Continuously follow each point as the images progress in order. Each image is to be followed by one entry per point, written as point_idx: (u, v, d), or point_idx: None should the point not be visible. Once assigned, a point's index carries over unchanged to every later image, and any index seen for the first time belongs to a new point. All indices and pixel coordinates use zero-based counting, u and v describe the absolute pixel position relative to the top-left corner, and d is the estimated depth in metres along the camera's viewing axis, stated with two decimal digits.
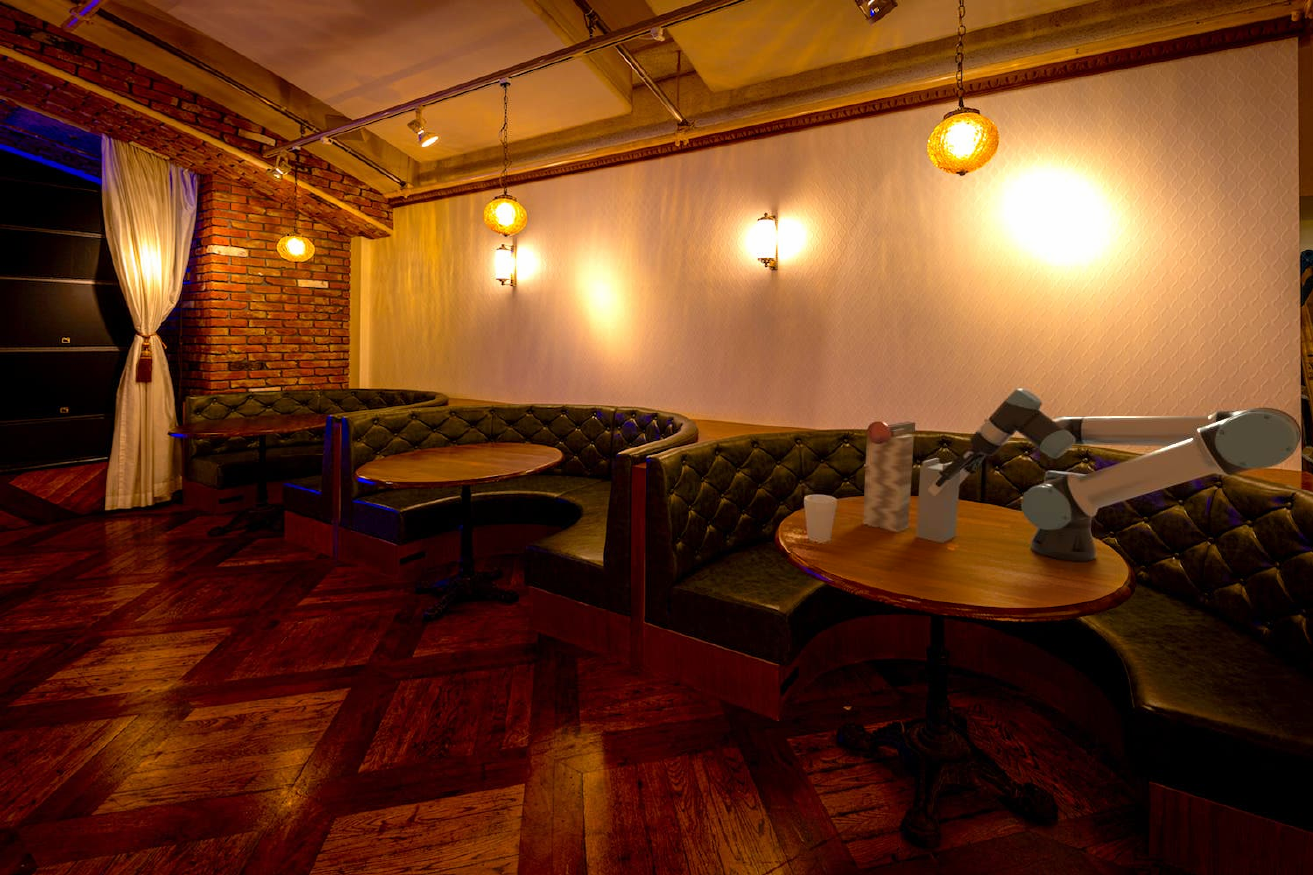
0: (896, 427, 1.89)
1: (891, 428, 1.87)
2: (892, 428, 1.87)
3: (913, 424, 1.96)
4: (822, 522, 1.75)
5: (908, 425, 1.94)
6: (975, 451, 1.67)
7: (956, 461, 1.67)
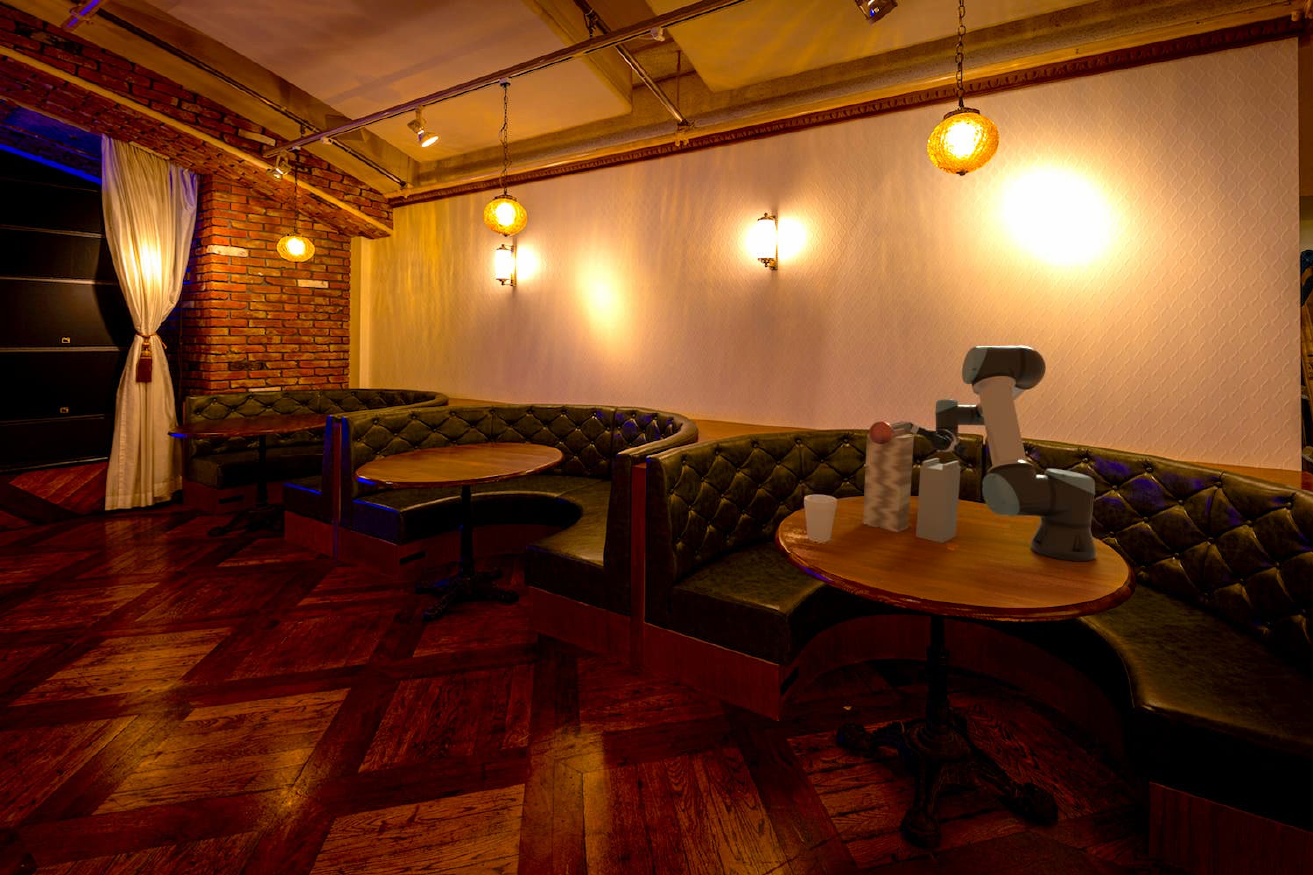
0: (896, 427, 1.89)
1: (892, 428, 1.86)
2: (893, 428, 1.87)
3: (909, 424, 1.97)
4: (822, 522, 1.75)
5: (905, 425, 1.95)
6: None
7: None
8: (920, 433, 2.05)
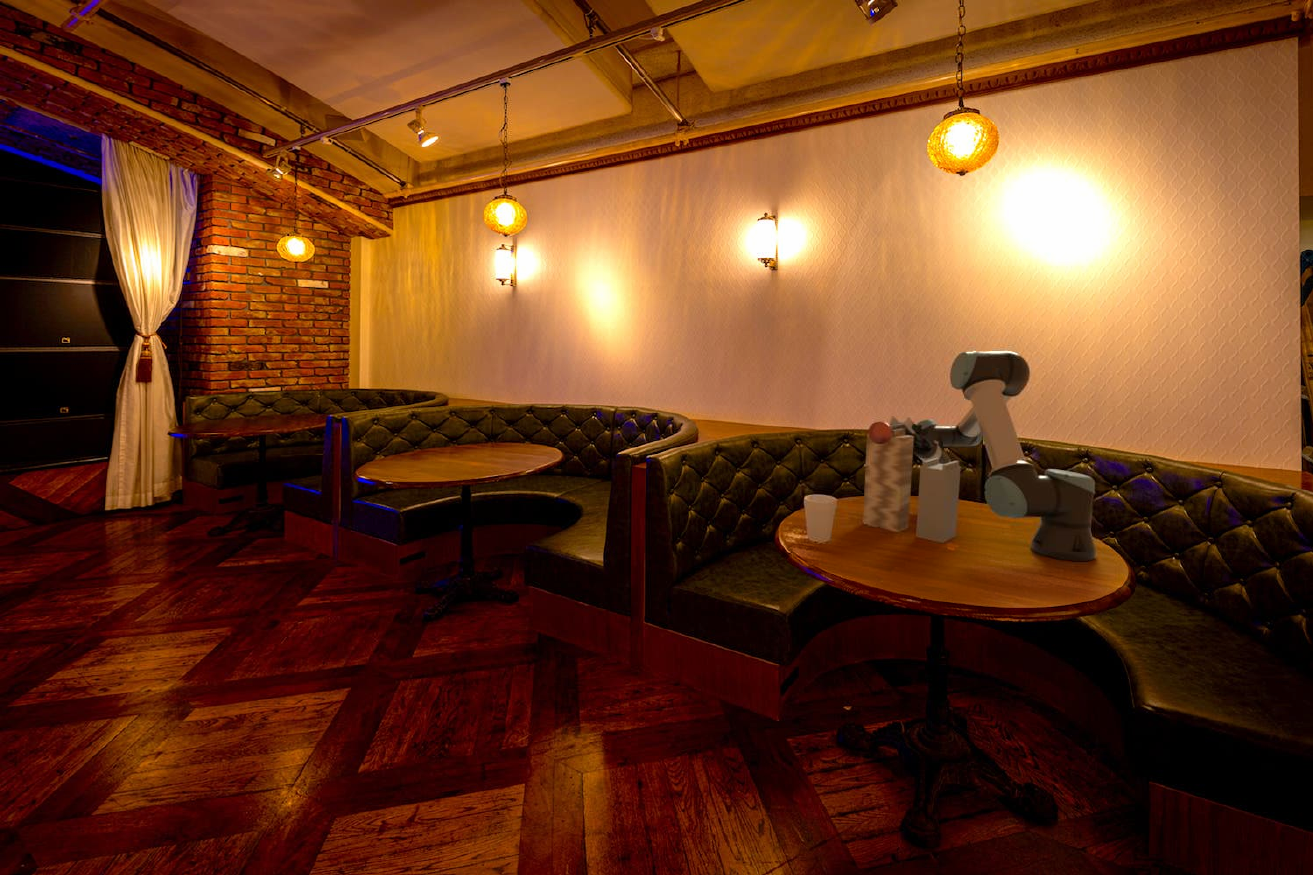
0: (896, 427, 1.89)
1: (892, 428, 1.86)
2: (893, 428, 1.87)
3: None
4: (822, 522, 1.75)
5: None
6: None
7: None
8: None
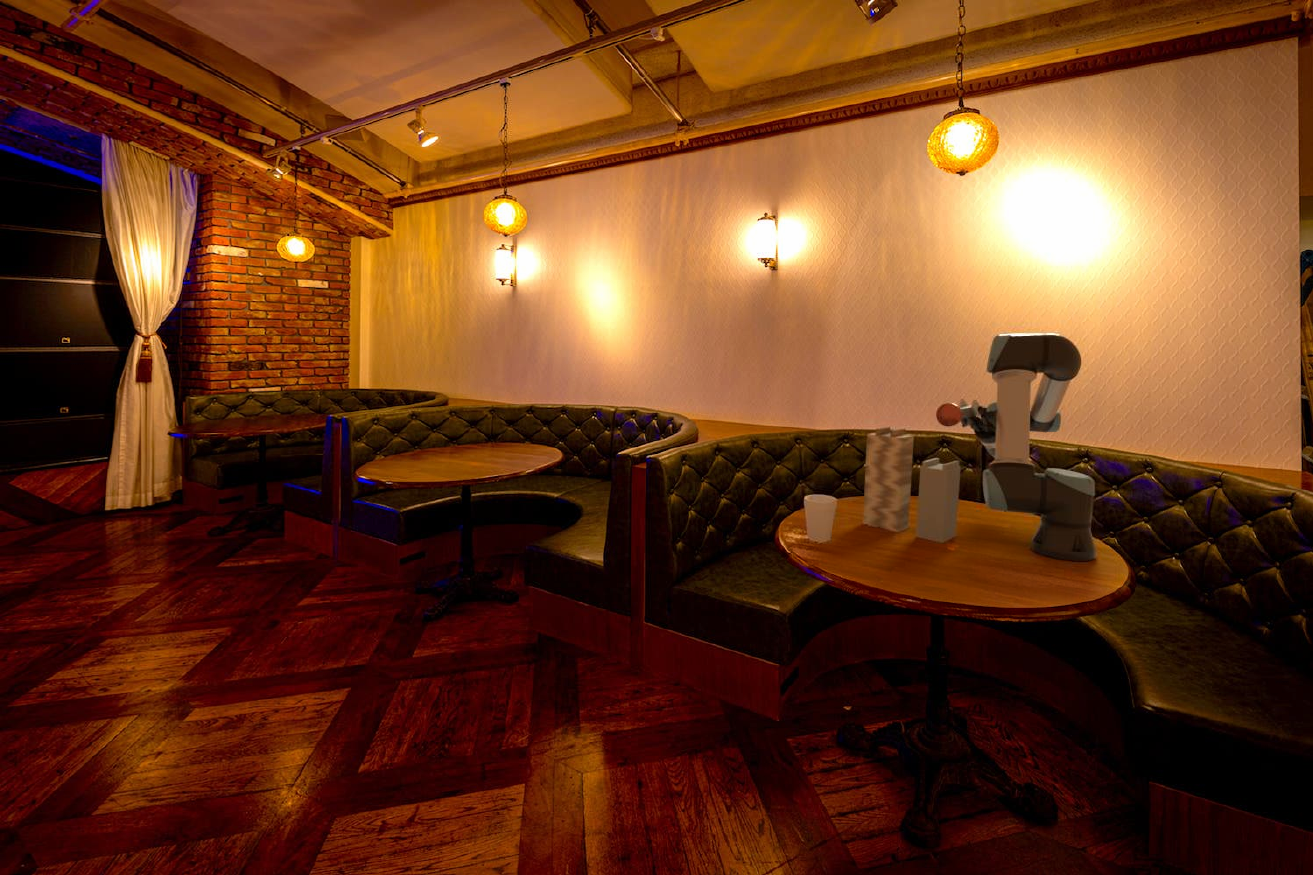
0: (965, 409, 1.83)
1: (961, 410, 1.81)
2: (962, 410, 1.82)
3: None
4: (822, 522, 1.75)
5: None
6: None
7: None
8: (970, 417, 1.94)
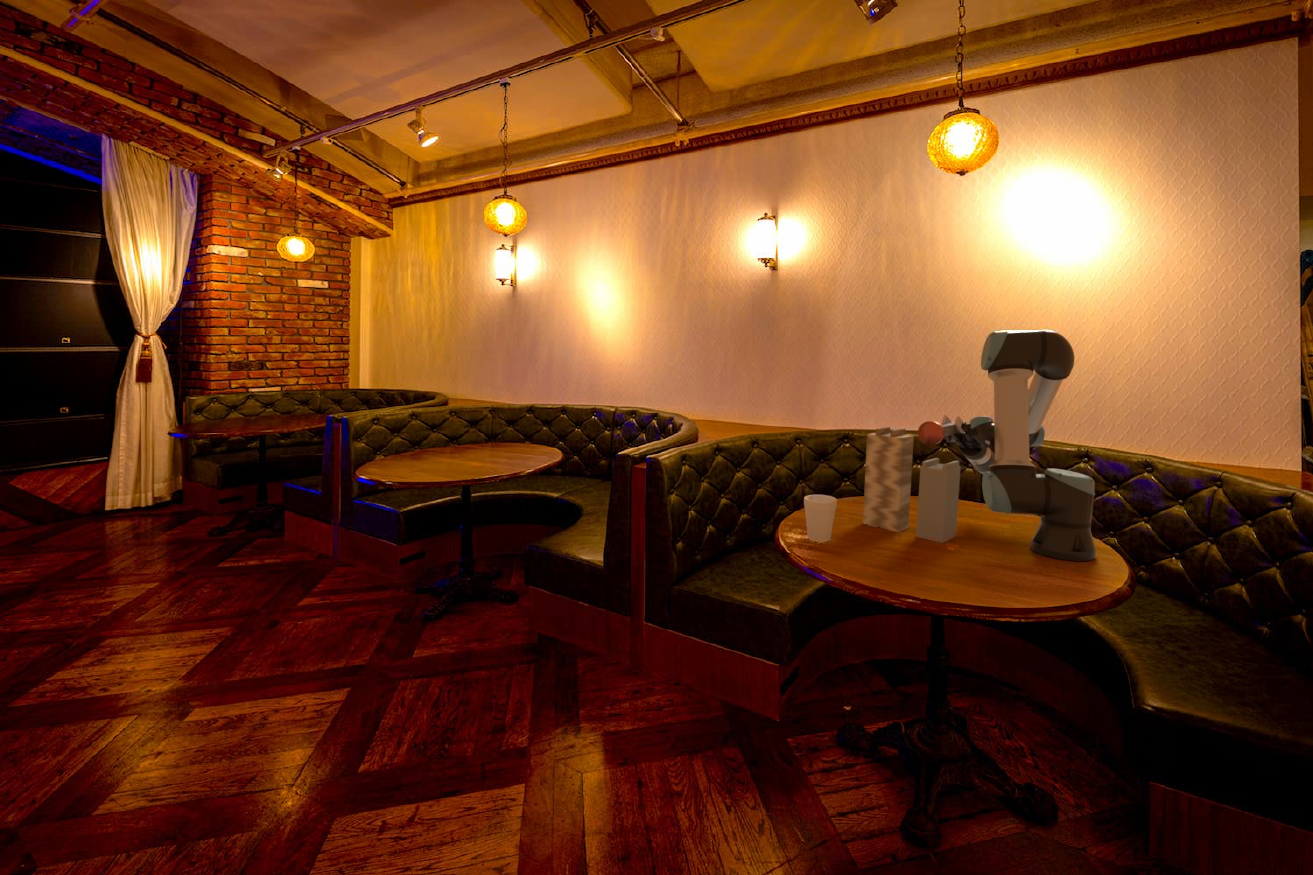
0: (948, 427, 1.77)
1: (943, 428, 1.75)
2: (944, 428, 1.75)
3: None
4: (822, 522, 1.75)
5: None
6: None
7: None
8: (954, 434, 1.88)
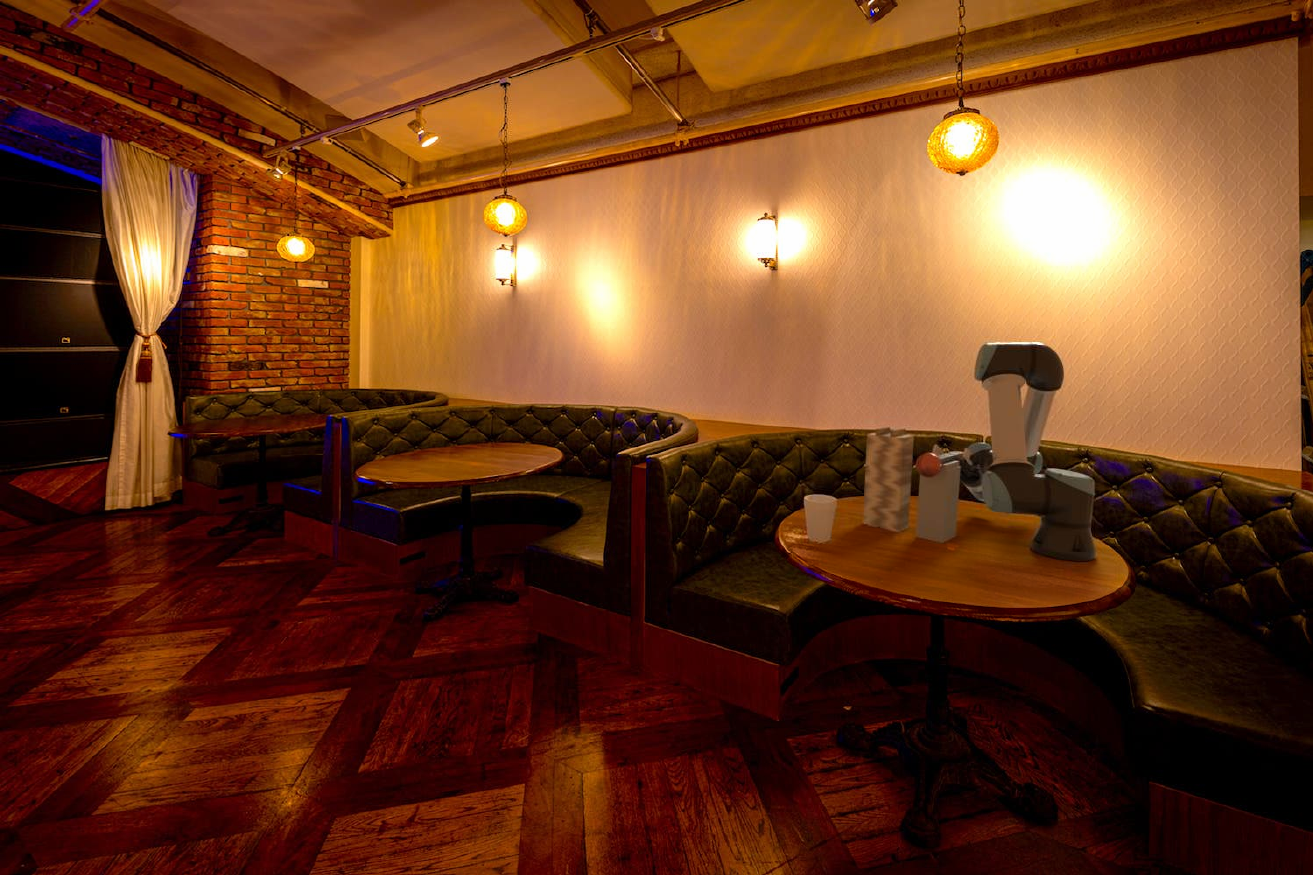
0: (946, 458, 1.78)
1: (941, 460, 1.76)
2: (942, 460, 1.77)
3: (962, 454, 1.85)
4: (822, 522, 1.75)
5: (957, 455, 1.83)
6: None
7: None
8: None
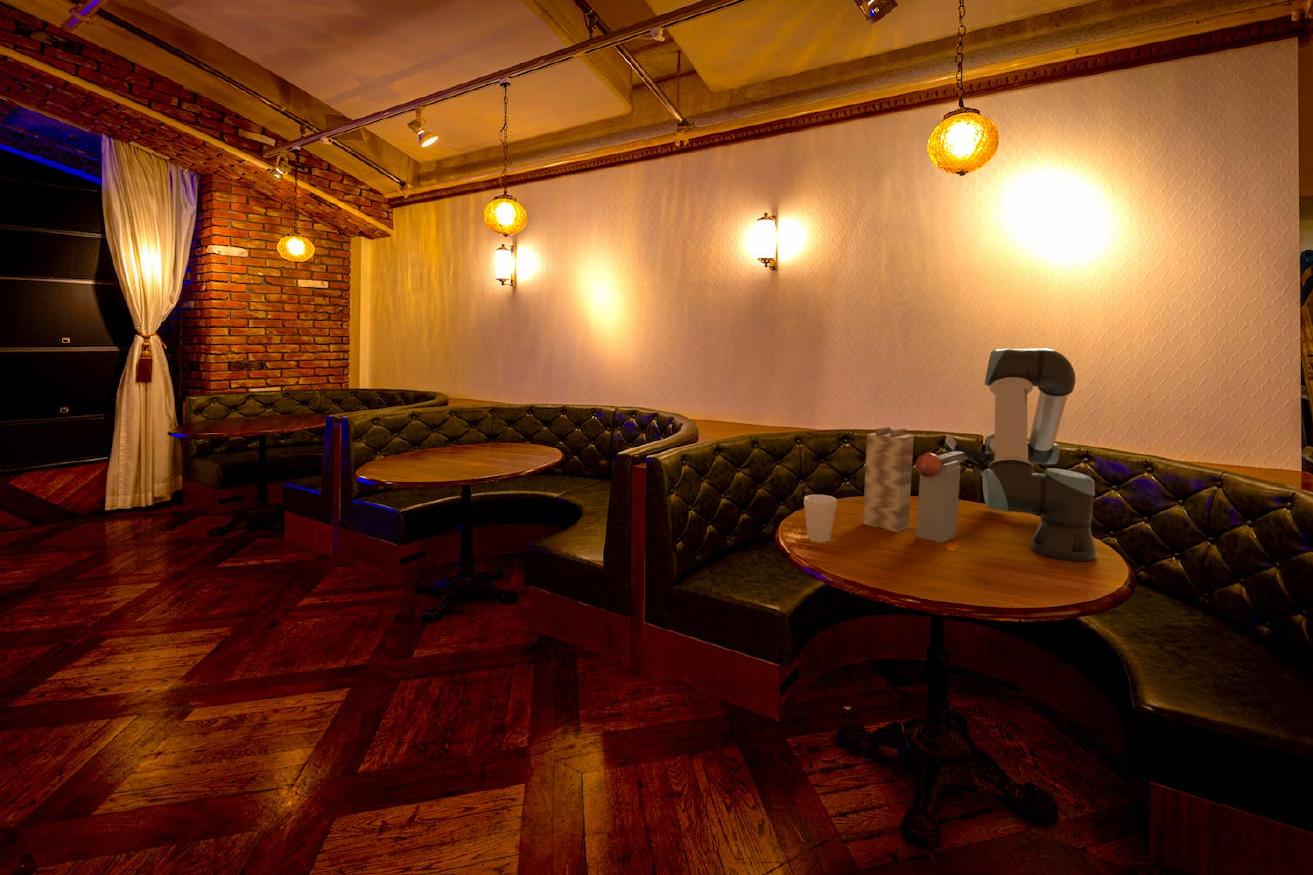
0: (946, 458, 1.78)
1: (941, 460, 1.76)
2: (942, 460, 1.77)
3: (962, 454, 1.85)
4: (822, 522, 1.75)
5: (957, 455, 1.83)
6: None
7: None
8: (959, 451, 2.01)
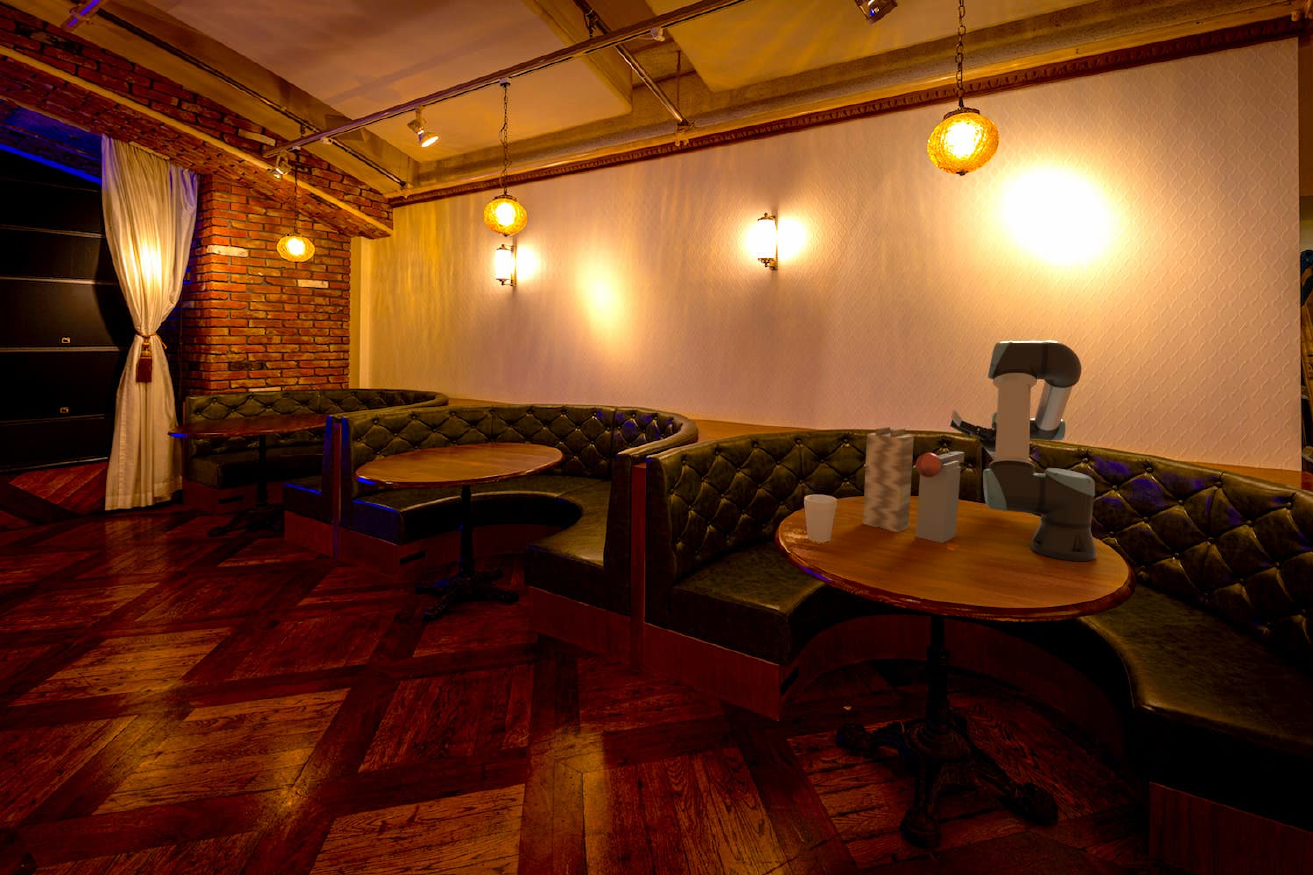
0: (946, 458, 1.78)
1: (941, 460, 1.76)
2: (942, 460, 1.77)
3: (962, 454, 1.85)
4: (822, 522, 1.75)
5: (957, 455, 1.83)
6: None
7: None
8: (965, 427, 2.02)
